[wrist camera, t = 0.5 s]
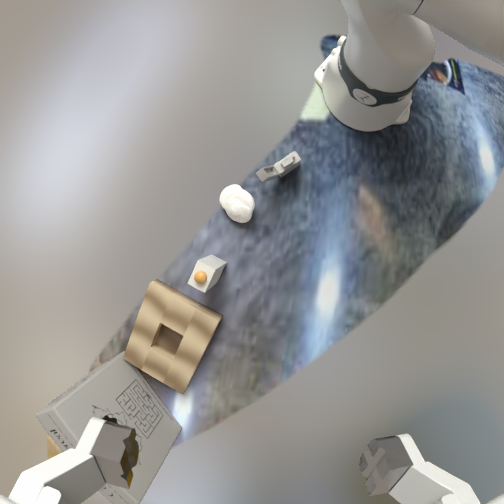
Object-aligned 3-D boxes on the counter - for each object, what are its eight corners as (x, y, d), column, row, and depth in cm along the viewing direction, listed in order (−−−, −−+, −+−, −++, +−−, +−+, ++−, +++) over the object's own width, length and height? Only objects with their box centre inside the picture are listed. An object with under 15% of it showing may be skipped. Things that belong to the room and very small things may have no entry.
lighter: (294, 156, 49) (295, 144, 42) (300, 164, 49) (302, 154, 42) (260, 179, 51) (255, 172, 43) (266, 187, 51) (262, 181, 43)
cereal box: (104, 361, 59) (33, 414, 34) (125, 349, 57) (52, 407, 33) (159, 434, 59) (113, 505, 34) (183, 427, 58) (139, 505, 33)
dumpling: (264, 207, 51) (262, 206, 47) (242, 229, 52) (238, 229, 48) (235, 179, 51) (231, 175, 47) (214, 200, 52) (208, 198, 48)
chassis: (157, 279, 55) (150, 282, 52) (223, 315, 54) (219, 320, 51) (129, 352, 57) (123, 358, 54) (187, 386, 56) (183, 394, 53)
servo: (211, 254, 53) (196, 261, 44) (226, 262, 53) (214, 270, 44) (202, 274, 53) (185, 284, 45) (217, 282, 53) (203, 293, 45)
